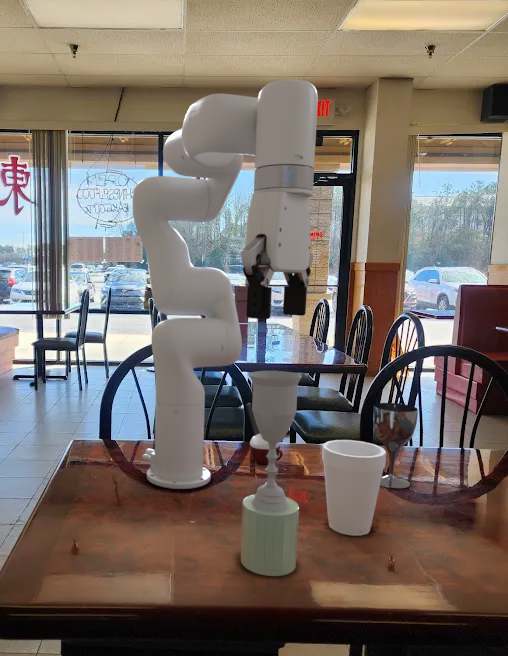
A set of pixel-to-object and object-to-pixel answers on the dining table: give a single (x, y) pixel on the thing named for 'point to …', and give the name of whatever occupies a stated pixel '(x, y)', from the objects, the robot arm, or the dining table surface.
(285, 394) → the chalice
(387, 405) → the wine glass
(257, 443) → the cocoa
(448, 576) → the dining table surface
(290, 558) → the mug
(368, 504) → the foam cup
